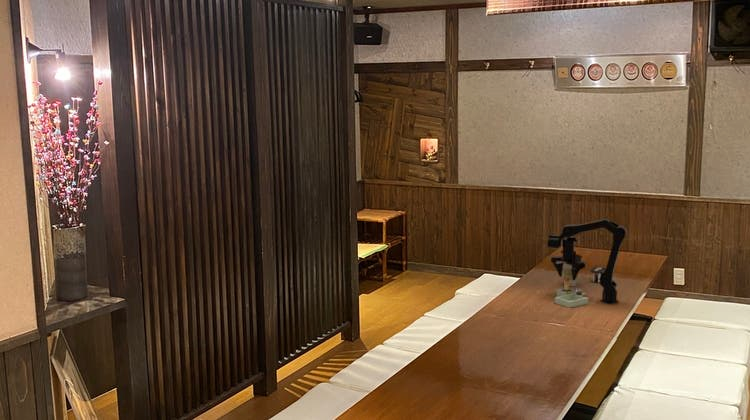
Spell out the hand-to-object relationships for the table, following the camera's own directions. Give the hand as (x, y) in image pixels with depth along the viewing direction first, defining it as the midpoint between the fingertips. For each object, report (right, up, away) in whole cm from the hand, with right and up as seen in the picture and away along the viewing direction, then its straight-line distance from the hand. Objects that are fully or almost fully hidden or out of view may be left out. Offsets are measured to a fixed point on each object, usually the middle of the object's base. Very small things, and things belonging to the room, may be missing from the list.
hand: (567, 278), depth 374 cm
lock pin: (0, -10, +2) cm, 10 cm away
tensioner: (+3, -9, +4) cm, 11 cm away
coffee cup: (+8, -6, +25) cm, 28 cm away
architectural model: (+26, -5, +34) cm, 44 cm away
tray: (-1, -12, -10) cm, 16 cm away
